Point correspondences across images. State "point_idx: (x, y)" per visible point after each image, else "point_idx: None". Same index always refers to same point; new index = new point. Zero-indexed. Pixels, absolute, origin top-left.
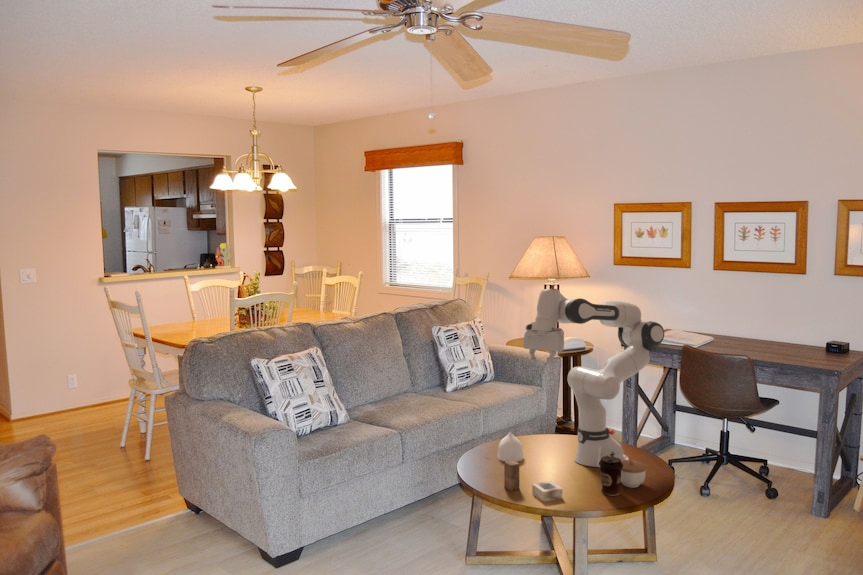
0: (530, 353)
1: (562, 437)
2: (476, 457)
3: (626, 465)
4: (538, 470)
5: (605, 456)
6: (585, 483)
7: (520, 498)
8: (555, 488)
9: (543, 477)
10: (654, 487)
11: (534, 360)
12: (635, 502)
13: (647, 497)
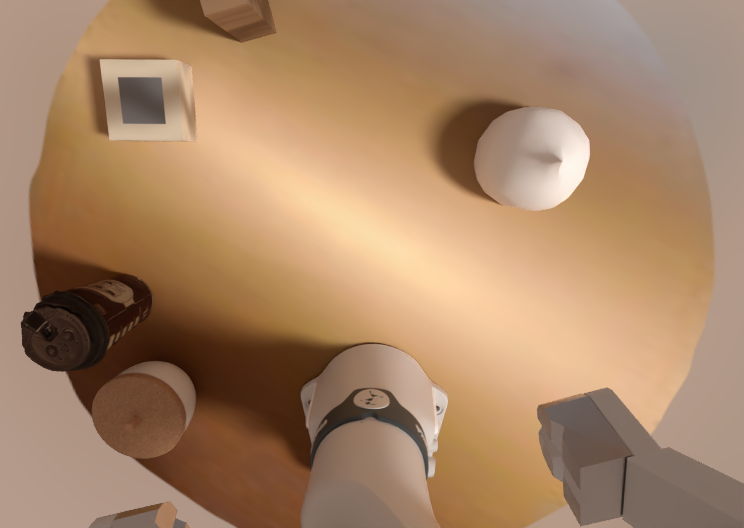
0: (723, 496)
1: None
2: (590, 29)
3: (132, 401)
4: (367, 192)
5: (88, 339)
6: (215, 272)
7: (165, 4)
8: (117, 118)
9: (304, 175)
10: None
11: (542, 436)
12: None
13: None
